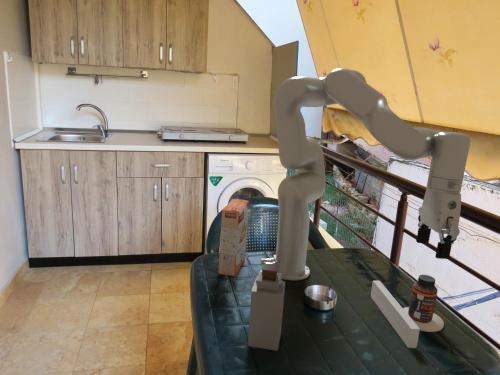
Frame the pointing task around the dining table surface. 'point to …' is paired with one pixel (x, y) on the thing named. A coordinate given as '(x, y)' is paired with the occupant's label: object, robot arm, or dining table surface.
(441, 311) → the dining table surface
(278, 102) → the robot arm
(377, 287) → the low wall
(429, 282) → the supplement bottle
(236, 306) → the dining table surface
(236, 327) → the dining table surface
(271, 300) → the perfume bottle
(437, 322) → the resting pad
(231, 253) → the cracker box
